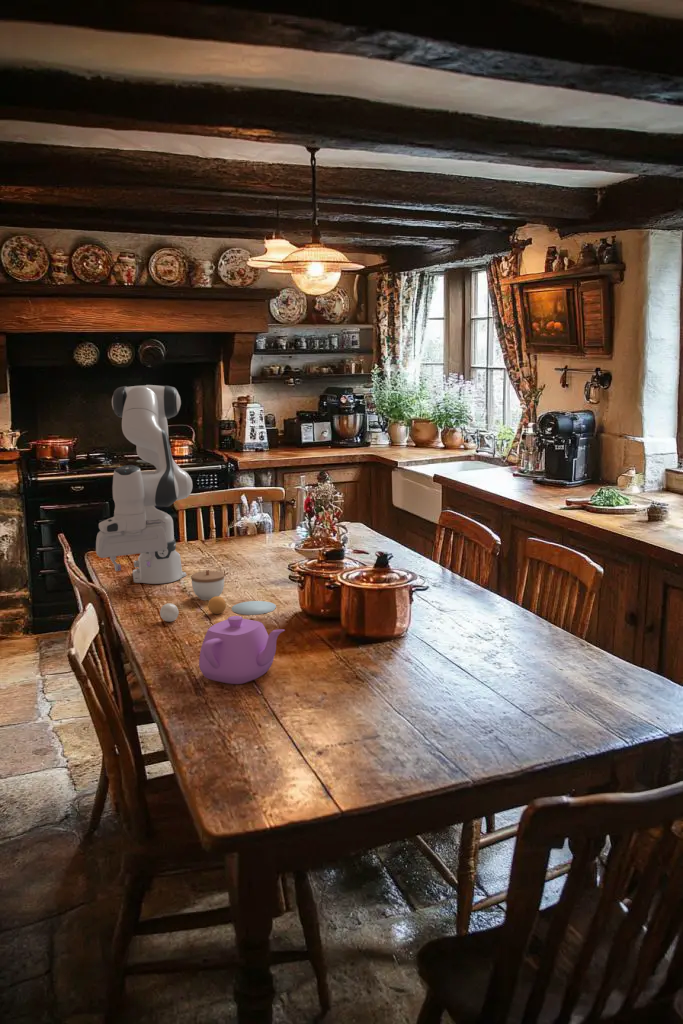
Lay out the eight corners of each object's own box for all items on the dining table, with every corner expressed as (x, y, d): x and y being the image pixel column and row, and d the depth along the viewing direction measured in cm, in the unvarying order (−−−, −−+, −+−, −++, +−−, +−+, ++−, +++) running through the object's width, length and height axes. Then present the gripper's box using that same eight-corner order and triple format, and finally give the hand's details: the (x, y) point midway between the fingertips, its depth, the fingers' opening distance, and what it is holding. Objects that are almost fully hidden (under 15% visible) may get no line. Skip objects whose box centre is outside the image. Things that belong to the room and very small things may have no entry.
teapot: (179, 685, 209) (176, 626, 207) (231, 658, 227) (229, 603, 224) (256, 703, 198) (253, 641, 195) (304, 673, 216) (303, 615, 213)
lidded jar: (208, 604, 275) (207, 576, 273) (185, 599, 282) (184, 571, 280) (232, 596, 284) (230, 569, 282) (209, 591, 290) (207, 564, 288)
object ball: (206, 612, 267) (205, 595, 266) (223, 610, 269) (222, 593, 268) (211, 617, 262) (210, 600, 261) (228, 614, 264) (228, 597, 263)
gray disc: (225, 605, 274) (225, 604, 274) (266, 599, 280) (266, 598, 280) (240, 617, 261) (240, 616, 261) (282, 610, 267) (282, 610, 267)
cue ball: (158, 620, 260) (157, 602, 259) (176, 617, 262) (175, 600, 261) (163, 625, 255) (162, 607, 254) (181, 622, 258) (180, 604, 257)
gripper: (163, 516, 256) (165, 562, 258) (93, 524, 247) (96, 570, 249) (168, 520, 250) (171, 566, 253) (97, 527, 241) (100, 575, 244)
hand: (133, 568), depth 251 cm, fingers open, 8 cm apart
